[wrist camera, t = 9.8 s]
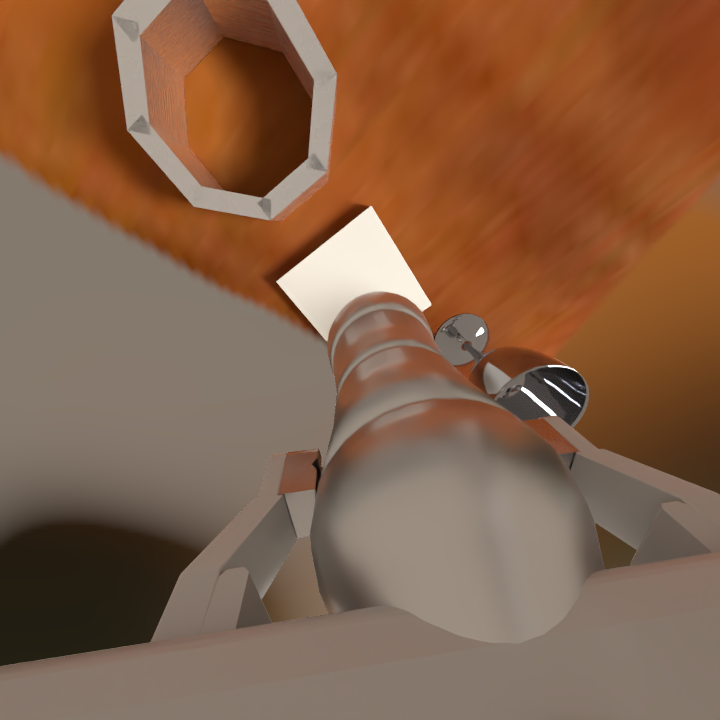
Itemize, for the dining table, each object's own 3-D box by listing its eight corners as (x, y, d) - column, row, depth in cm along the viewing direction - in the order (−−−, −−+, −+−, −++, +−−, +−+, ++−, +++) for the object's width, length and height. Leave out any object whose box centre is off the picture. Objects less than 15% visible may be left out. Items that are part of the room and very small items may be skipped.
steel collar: (254, -35, 21) (227, -124, 16) (362, 152, 27) (370, 134, 21) (129, 100, 24) (70, 64, 19) (251, 247, 29) (233, 252, 24)
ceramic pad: (369, 206, 29) (371, 205, 27) (427, 301, 34) (431, 304, 32) (278, 279, 31) (276, 281, 30) (345, 358, 36) (345, 364, 34)
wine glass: (417, 350, 36) (469, 425, 23) (460, 297, 34) (546, 346, 20) (462, 379, 39) (533, 463, 25) (505, 332, 36) (609, 396, 23)
